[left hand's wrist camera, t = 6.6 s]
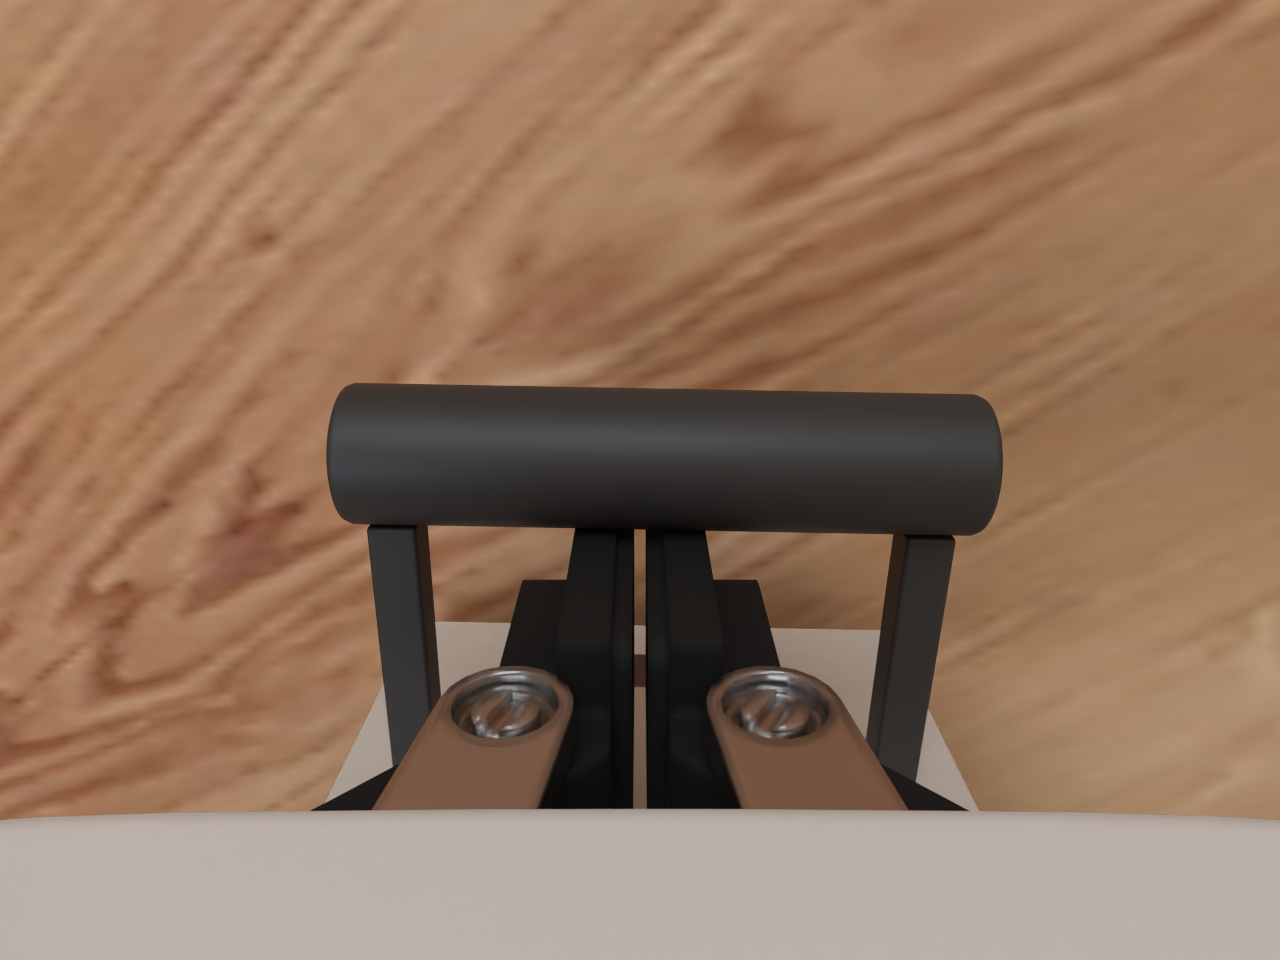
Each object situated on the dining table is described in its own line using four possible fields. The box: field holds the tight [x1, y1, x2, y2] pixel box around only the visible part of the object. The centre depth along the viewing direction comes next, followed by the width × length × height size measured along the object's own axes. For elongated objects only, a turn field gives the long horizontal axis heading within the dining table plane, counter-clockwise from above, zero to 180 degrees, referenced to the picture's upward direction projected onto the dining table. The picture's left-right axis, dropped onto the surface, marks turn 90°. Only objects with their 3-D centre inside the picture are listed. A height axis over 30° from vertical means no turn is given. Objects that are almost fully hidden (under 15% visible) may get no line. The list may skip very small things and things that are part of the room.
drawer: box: [325, 383, 1003, 811], centre depth 15 cm, size 20×10×7 cm, turn 179°
